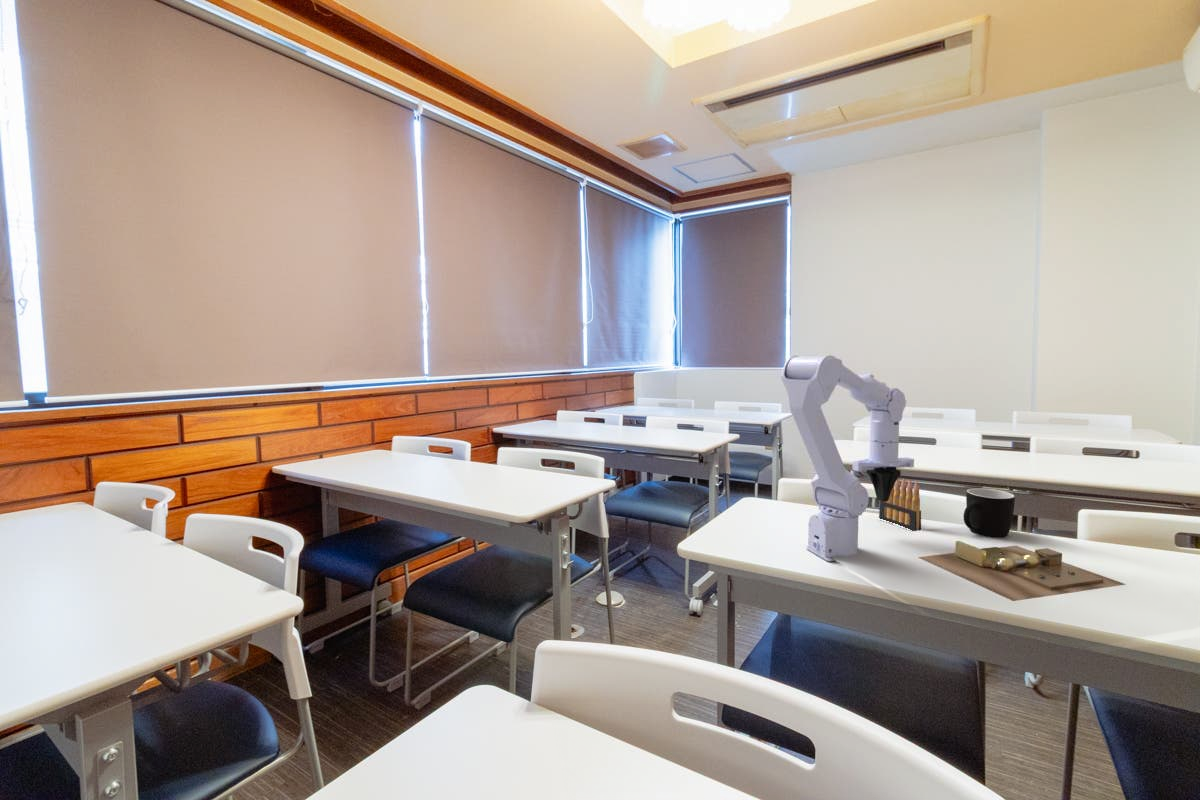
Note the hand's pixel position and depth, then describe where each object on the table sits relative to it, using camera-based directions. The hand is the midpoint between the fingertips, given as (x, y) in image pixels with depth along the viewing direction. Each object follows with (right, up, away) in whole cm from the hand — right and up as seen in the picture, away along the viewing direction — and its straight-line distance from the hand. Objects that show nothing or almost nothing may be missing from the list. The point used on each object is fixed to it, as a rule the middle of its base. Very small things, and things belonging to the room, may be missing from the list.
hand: (882, 500), depth 120 cm
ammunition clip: (+10, -9, +11) cm, 17 cm away
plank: (+16, -11, -18) cm, 26 cm away
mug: (+24, -9, +2) cm, 26 cm away
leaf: (+17, -9, -14) cm, 24 cm away
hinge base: (+20, -10, -21) cm, 31 cm away
